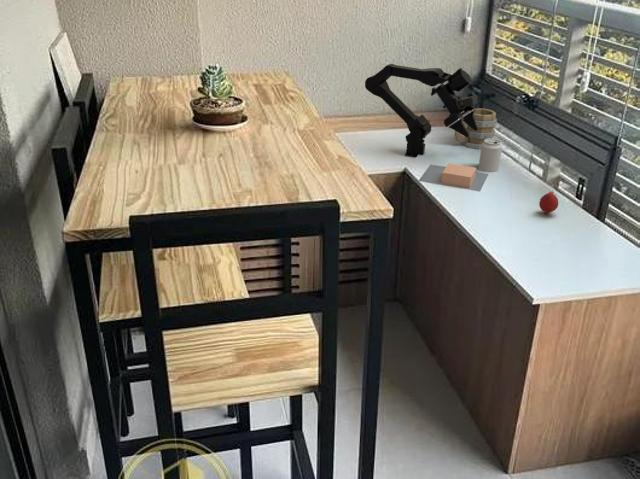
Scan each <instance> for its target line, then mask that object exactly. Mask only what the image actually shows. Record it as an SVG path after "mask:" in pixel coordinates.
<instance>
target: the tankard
mask: <svg viewBox="0 0 640 479" xmlns="http://www.w3.org/2000/svg"><path fill="white" fill-rule="evenodd" d="M475 109H476V111H475V113H474V118H475V121H476V125H477V128H478V130H476V131H475V130H473V129H472V128H471V127H470V126H469V125H467V124H466V127H465V128H466V130H467V132H468V134H469V136H468V137H465V136H461V135H462V134H460V133H459V132H457V131H455V130H454V137H455V140H456V141H457V142H460V143H461V144H462V145H464V146H465V147H466V148H469V149H470V148H471V149H475V150H479V149H480V150H481V146H482V143H483V142H484V140H485V139H493V137H494V136H495V133H496V130H495V126H496V125H497V121H498V119H497V116H496V115H497V112H495V111H494V110H491V109H487V108H475ZM475 109H473V110H475ZM473 110H472V111H473ZM461 118H463V117H461ZM463 124H464V125H465V122H464V121H463Z"/></svg>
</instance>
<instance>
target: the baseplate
mask: <svg viewBox="0 0 640 479" xmlns="http://www.w3.org/2000/svg"><path fill="white" fill-rule="evenodd" d="M446 167H447V166H442V165H437V164H429V165H428V167H427V168H426V170H425V171H424V172H423V173H422V175H421V177H420V178H419V179H418V182H422V183H423V182H424V183H429V184H435V185H439V186H440V185H441V186H445V187H452V188H458V189H464V190H470V191H475V192H481V190H482V189H483V186H484V184H485V182H486V181H487V179H488V176H489V173H487V172H480V171H476V172H475V178H474V180H473V182H472V184H471V186H470V188H467V187H461V186H455V185H449V184H444V183H441V181H442V173H443V171H444V170H445V168H446Z"/></svg>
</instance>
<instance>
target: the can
mask: <svg viewBox="0 0 640 479" xmlns="http://www.w3.org/2000/svg"><path fill="white" fill-rule="evenodd" d="M502 152H503V144H502V141H501V140H499V139H498V138H492V139H485V140H484V142H483V143H482V146H481V149H480V152H479V160H478V161H479V162H478V170H479V171H483V172H484V173H496V172H498V171H499V168H500V163H501V158H502Z"/></svg>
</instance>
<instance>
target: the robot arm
mask: <svg viewBox="0 0 640 479" xmlns="http://www.w3.org/2000/svg"><path fill="white" fill-rule="evenodd" d="M391 77H396V78H401V79H402V78H403V79H407V80H408V79H409V80H413V81H418V82H419V83H420V82H421V84H424V85H426V86H429V87H432V88H431V91H430V92H431V93H430V96H431V97H432V96H434V95H437V96H438V98H439V100H440V101H441V103H442V104H443V106H442V108H443V110H445V109H446V110H447V111H448V113H449V115H448V116H447V117H446V118H444V119H443V125H444V126H445V127H446V128H447V127H448V128H449V129H452V130H453V131H454V132H455V131H457V132H459V133H460V135H462V136H463V137H468V136H469V134H468V132H467V130H466V128H467V127H466V126H467V125H469V126H470V127H471V128H472V129H473V130H475V131H476V130H478V128H477V125H476V121H475V118H474V113H475V111H476V109H477V106H476V105H477V104H478V98H479V97H478V95H477V94H475V93H474V92H473V91H472V92H469V93H468V94H467V96H465V97H462V96H461V95H457V94H456V92H458V93H459V92H461V91H462V90H464V89H465V88H467V87H468V86H469V85H470V84H472V82H473V81H472V76H471V75H470V74H469V73H468V72H467V71H465V70H464V69H463V68H462V67H459V68H458V69H456V71H455V72H454V73H452V74H450V73H448V72H444V70H443V68H439V67H430V68H418V67H411V66H405V65H398V64H394V63H389V64H386V65H385V66H384V67H383V68H382V69H381V70H379V71H378V72H377V73H376V74H373V75H371V76H369V77H367V78H366V79H365V81H364V87H365V89H366V90H367V92H369V93H371V94H372V95H373V96H376V97H378V98H380V99H382V100H383V101H384V102H385V103H386V104H387V106H389V108H391V110H392V111H394V112H395V113H396V115H398V116H399V118H400V119H402V121H403V122H404V123H405V124H406V126H407V129H408V131H409V133H408V134H406V135H405V141H406V150H405V154H404V156H407V157H412V158H417V157H418V156H423V155H425V154H426V153H425V151H426V143H425V138H426V137H427V136H428V135H429V134H431V132H432V125H431V123H430V122H431V121H430V120H428V119H427V118H426V117H425V115H423V114H421V115H416V114H415V113H414V112H413V111H412V109H410V108H409V107H408V105H406V104H405V103H404V102H403V101H402V100H401V98H399V97H398V96H397V95H396V94H395V92H393V91H392V90H391V89H390V86H389V83H388V81H387V80H389V79H390V78H391ZM437 85H438V86H437ZM473 109H475V110H473ZM472 110H473V111H472ZM461 117H463V118H461ZM463 121H464V124H463ZM465 124H466V126H465Z"/></svg>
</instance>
